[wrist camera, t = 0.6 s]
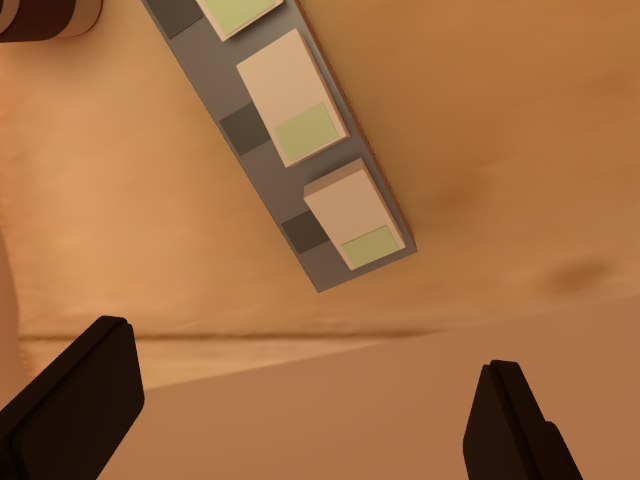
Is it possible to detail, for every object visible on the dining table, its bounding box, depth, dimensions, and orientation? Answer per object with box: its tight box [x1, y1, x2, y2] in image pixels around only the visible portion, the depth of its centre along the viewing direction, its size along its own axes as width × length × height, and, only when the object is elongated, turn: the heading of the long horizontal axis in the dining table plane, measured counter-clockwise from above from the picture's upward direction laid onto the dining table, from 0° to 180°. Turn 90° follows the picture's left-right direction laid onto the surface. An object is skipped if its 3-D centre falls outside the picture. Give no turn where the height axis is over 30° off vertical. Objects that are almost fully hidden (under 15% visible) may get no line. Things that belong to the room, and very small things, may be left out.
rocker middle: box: [236, 28, 351, 167], centre depth 30 cm, size 5×8×2 cm, turn 28°
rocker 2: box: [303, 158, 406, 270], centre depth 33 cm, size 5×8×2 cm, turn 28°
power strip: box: [141, 0, 418, 293], centre depth 33 cm, size 10×40×5 cm, turn 28°
